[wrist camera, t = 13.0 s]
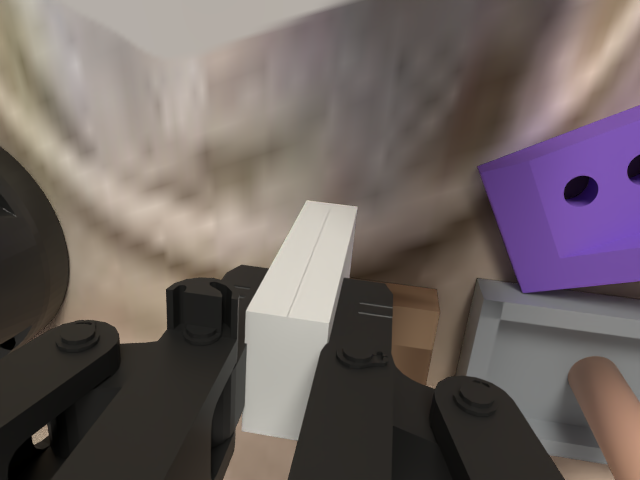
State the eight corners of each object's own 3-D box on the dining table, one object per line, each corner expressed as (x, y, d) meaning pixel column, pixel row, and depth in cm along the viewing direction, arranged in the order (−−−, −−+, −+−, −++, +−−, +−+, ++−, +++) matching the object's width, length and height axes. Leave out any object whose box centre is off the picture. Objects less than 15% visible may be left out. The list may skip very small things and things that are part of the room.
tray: (447, 410, 32) (451, 439, 30) (477, 278, 28) (484, 299, 26) (691, 448, 31) (714, 481, 28) (753, 314, 27) (784, 339, 25)
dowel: (562, 392, 29) (662, 611, 18) (574, 353, 28) (686, 560, 17) (611, 398, 29) (741, 624, 18) (624, 359, 28) (771, 573, 17)
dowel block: (285, 385, 33) (276, 412, 31) (293, 270, 30) (284, 290, 27) (414, 405, 32) (415, 435, 30) (436, 289, 29) (439, 312, 27)
